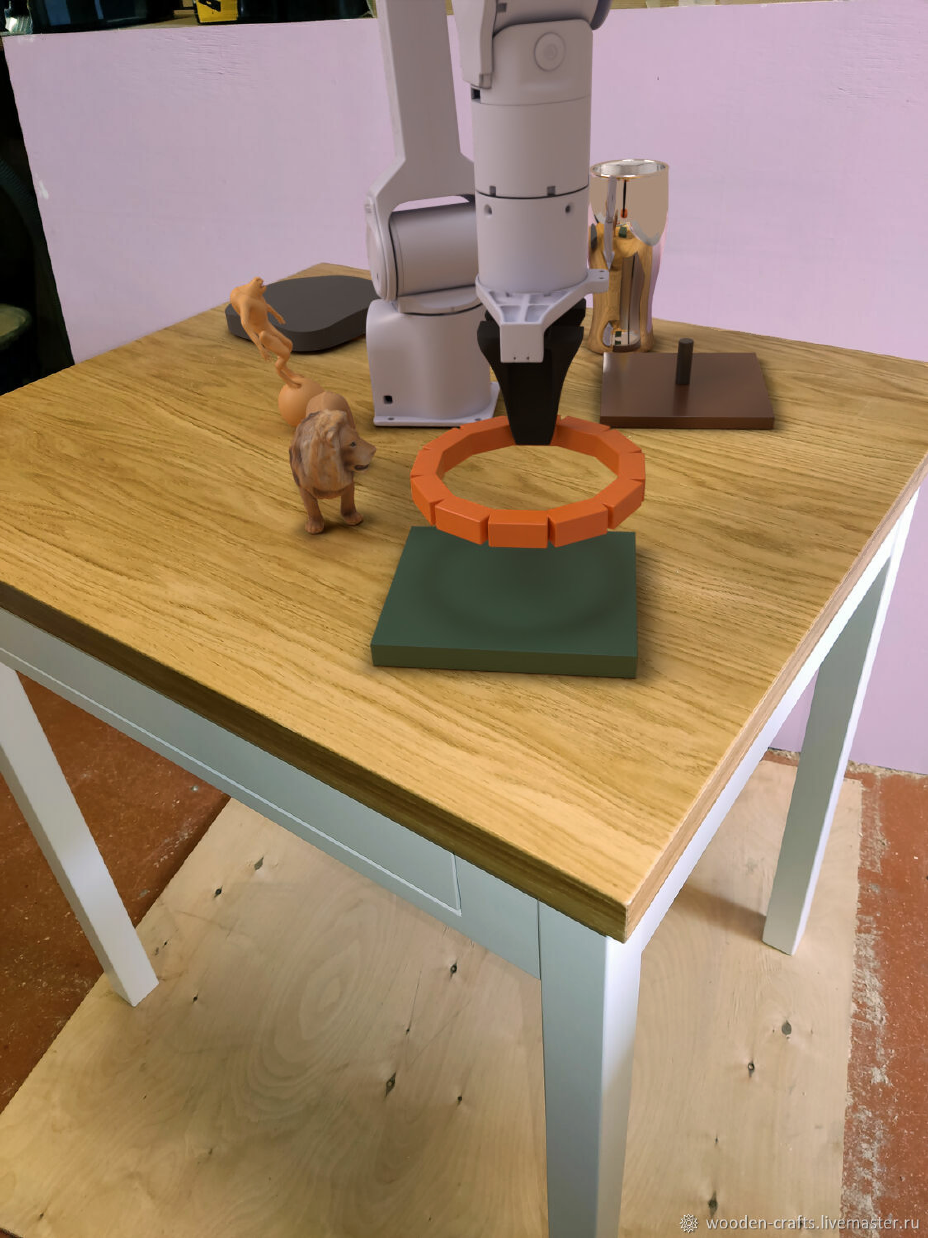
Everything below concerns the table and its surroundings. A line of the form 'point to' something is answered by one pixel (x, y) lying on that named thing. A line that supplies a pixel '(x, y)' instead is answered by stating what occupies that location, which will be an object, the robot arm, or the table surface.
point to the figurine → (274, 349)
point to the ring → (528, 524)
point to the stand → (512, 606)
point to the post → (684, 390)
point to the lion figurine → (328, 458)
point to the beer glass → (626, 250)
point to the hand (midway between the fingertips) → (534, 435)
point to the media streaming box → (315, 310)
